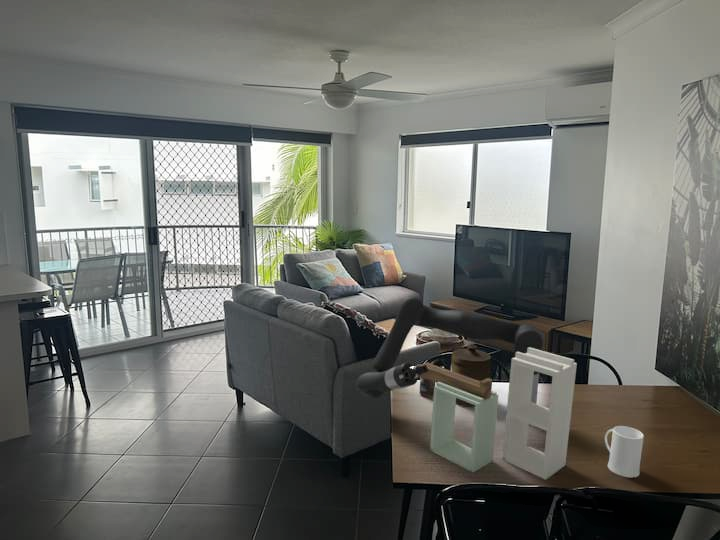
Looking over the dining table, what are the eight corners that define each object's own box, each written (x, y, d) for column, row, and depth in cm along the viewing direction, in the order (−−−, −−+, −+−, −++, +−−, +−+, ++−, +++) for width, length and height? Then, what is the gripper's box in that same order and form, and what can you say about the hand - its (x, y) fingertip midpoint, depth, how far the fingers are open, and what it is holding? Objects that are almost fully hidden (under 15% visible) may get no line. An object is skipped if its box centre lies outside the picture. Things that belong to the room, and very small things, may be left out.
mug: (593, 458, 160) (597, 422, 158) (615, 455, 163) (620, 419, 161) (622, 479, 149) (627, 440, 147) (646, 475, 152) (651, 437, 150)
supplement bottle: (436, 393, 205) (438, 366, 203) (432, 398, 200) (433, 370, 198) (422, 390, 208) (423, 363, 206) (417, 395, 202) (418, 367, 201)
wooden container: (463, 388, 211) (467, 336, 207) (495, 400, 200) (500, 346, 197) (440, 398, 201) (444, 343, 197) (472, 411, 190) (477, 353, 187)
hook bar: (426, 373, 168) (427, 357, 168) (490, 396, 151) (492, 379, 150) (418, 375, 166) (419, 359, 165) (483, 400, 149) (484, 382, 148)
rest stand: (449, 440, 168) (454, 375, 164) (492, 460, 157) (498, 391, 153) (429, 450, 161) (434, 383, 157) (473, 472, 150) (479, 400, 146)
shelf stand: (522, 446, 166) (532, 345, 160) (565, 465, 156) (577, 358, 150) (502, 459, 157) (512, 353, 152) (545, 479, 147) (557, 367, 142)
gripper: (382, 370, 170) (416, 358, 159) (411, 361, 180) (445, 349, 169) (390, 392, 169) (424, 382, 157) (418, 382, 178) (453, 371, 167)
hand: (435, 365), depth 163 cm, fingers open, 8 cm apart
